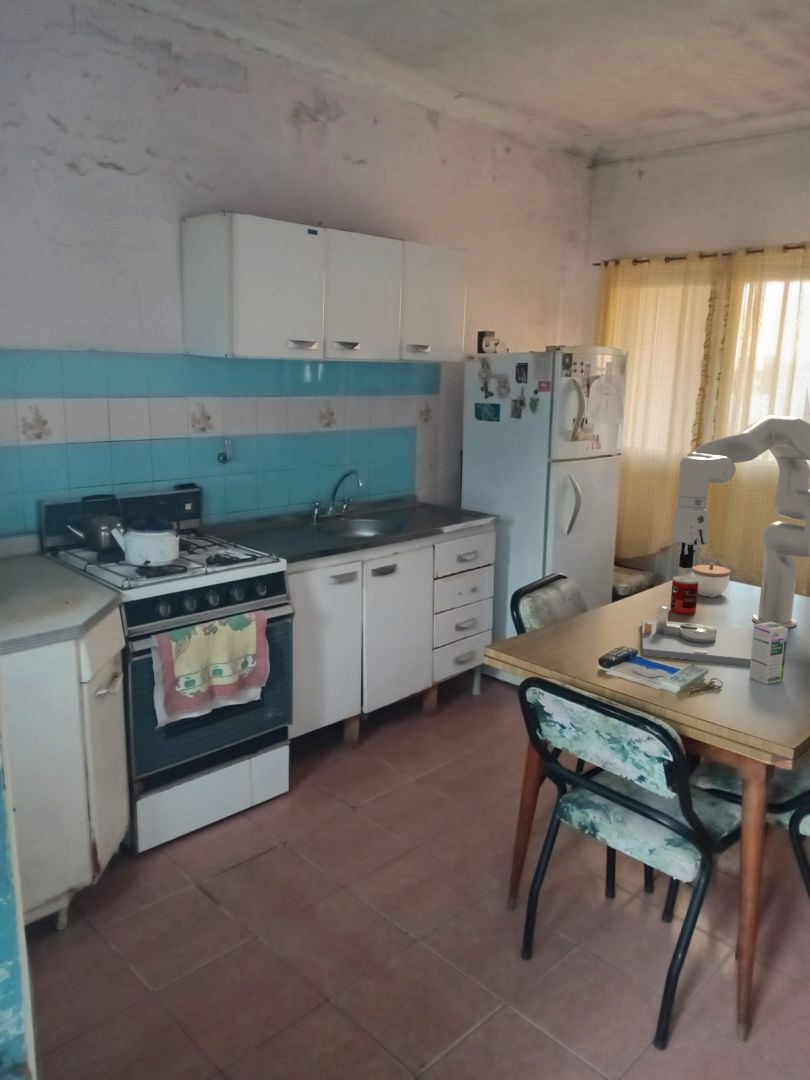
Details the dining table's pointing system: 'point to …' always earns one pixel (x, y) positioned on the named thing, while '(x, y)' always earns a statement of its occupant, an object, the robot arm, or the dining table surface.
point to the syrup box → (768, 652)
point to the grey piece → (684, 629)
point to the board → (699, 645)
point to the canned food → (684, 595)
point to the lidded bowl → (711, 579)
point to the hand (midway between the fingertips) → (685, 567)
